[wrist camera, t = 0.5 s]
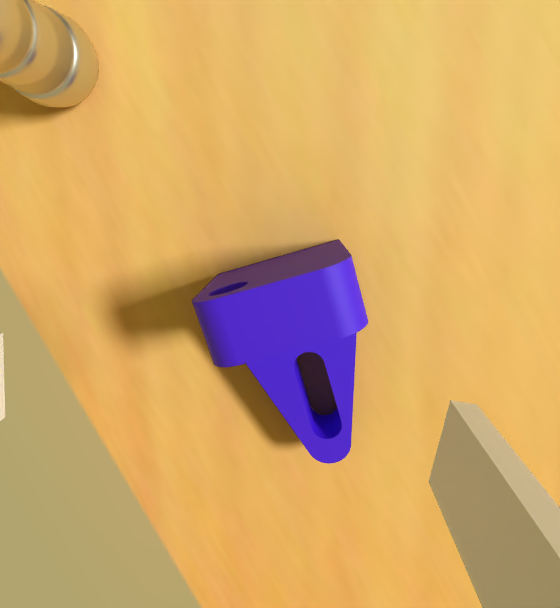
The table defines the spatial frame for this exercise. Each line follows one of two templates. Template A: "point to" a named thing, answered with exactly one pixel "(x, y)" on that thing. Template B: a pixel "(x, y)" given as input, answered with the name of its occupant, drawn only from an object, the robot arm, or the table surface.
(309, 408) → the bracket
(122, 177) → the table surface
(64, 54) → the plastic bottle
